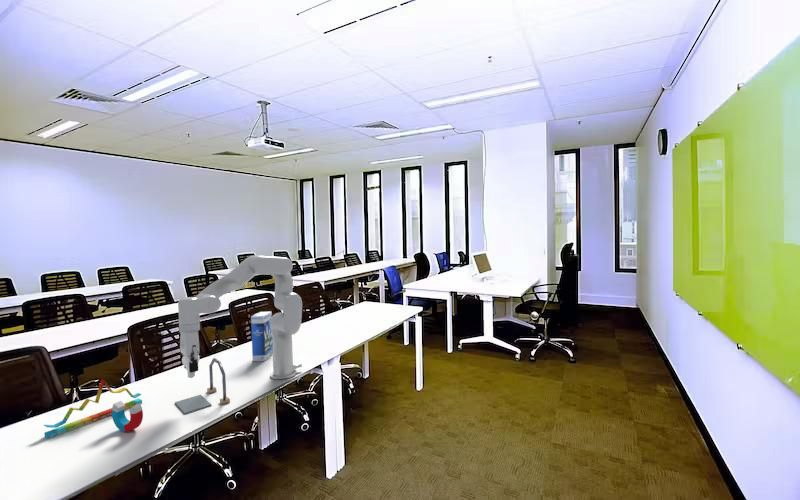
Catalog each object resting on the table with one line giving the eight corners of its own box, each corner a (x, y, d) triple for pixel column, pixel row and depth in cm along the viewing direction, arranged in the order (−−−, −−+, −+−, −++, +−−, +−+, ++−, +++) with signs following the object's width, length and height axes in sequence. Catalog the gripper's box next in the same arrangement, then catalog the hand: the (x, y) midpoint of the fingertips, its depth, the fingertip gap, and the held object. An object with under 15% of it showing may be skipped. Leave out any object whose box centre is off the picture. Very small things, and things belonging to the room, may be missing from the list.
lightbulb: (182, 381, 150) (181, 355, 149) (183, 376, 155) (182, 350, 155) (199, 378, 153) (198, 352, 152) (200, 373, 158) (199, 348, 158)
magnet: (112, 430, 135) (110, 403, 135) (119, 426, 138) (118, 400, 137) (136, 434, 132) (135, 407, 131) (144, 430, 134) (142, 403, 134)
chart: (48, 439, 130) (45, 398, 129) (44, 437, 131) (42, 396, 131) (142, 404, 156) (140, 369, 156) (138, 402, 158) (136, 368, 157)
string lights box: (265, 361, 206) (263, 316, 205) (251, 361, 207) (250, 316, 206) (273, 353, 220) (272, 311, 219) (261, 354, 220) (259, 311, 219)
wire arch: (214, 389, 169) (212, 354, 169) (229, 402, 156) (228, 363, 155) (207, 391, 167) (205, 355, 167) (222, 404, 154) (220, 365, 153)
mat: (200, 395, 163) (200, 394, 163) (211, 405, 153) (211, 404, 153) (174, 403, 156) (174, 402, 156) (184, 414, 146) (184, 412, 146)
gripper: (173, 325, 157) (175, 367, 157) (185, 332, 144) (187, 377, 145) (193, 322, 162) (194, 362, 163) (206, 328, 150) (207, 372, 150)
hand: (191, 369), depth 154 cm, fingers closed on lightbulb, 6 cm apart
